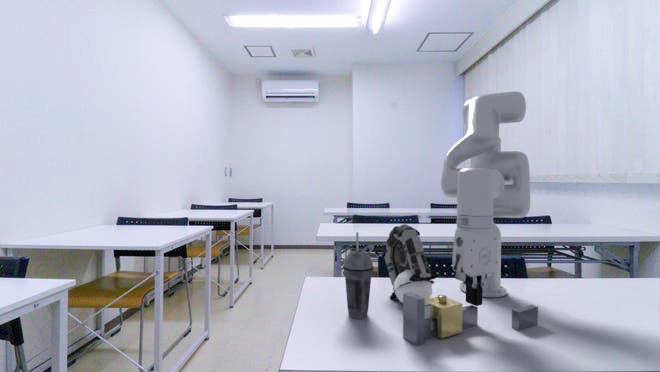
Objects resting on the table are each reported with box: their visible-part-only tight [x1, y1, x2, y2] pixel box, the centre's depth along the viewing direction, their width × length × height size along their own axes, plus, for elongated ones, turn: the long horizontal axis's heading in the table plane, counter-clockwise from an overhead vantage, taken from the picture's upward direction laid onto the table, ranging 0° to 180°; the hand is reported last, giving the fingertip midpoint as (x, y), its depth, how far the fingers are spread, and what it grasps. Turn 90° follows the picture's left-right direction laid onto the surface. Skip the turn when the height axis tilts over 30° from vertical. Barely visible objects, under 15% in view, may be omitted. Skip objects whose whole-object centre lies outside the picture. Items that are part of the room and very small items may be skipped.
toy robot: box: [381, 223, 439, 304], centre depth 90 cm, size 18×10×22 cm
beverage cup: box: [342, 231, 374, 320], centre depth 80 cm, size 7×7×20 cm
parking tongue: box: [511, 304, 539, 332], centre depth 75 cm, size 2×7×4 cm, turn 118°
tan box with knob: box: [425, 294, 463, 339], centre depth 71 cm, size 6×6×7 cm
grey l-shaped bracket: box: [402, 292, 479, 347], centre depth 72 cm, size 4×19×9 cm, turn 118°
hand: (473, 303), depth 76 cm, fingers closed
